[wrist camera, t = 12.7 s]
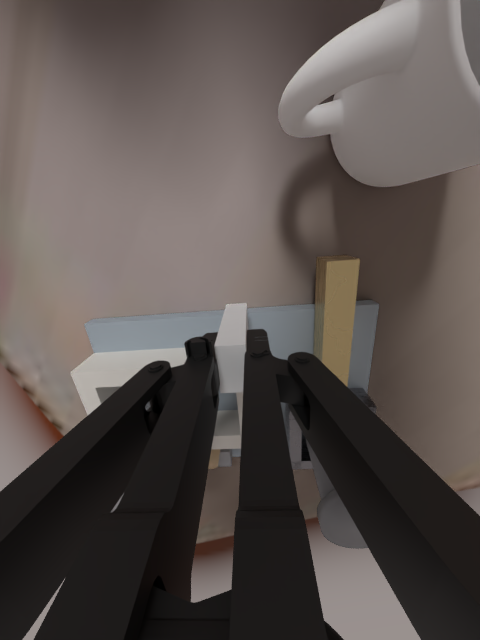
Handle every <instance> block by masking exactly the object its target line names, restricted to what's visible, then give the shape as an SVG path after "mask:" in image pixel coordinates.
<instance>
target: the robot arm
mask: <svg viewBox="0 0 480 640" xmlns="http://www.w3.org/2000/svg"><path fill="white" fill-rule="evenodd" d="M184 345H185V351H186V356H187V359H186V361H185V363H184V364H183V365H180V366H176V367H171V366H170V363H169V362H168V361H164V360H162V361H160V360H158V361H154V362H152V363H149V364H147V365H146V366H144V367H143V368H142V369H141V370H140V371H138V372H137V373H136V374H135V375H134V376H133V377H132V378H130V379H129V380H128V381H127V382H126V383H125V384H124V385H122V386H121V387H120V388H119V389H118V390H117V391H116V392H114V393H113V394H112V395H111V396H110V397H109V398H107V399H106V400H105V401H104V402H103V403H102V404H101V405H99V406H98V407H97V408H96V409H95V410H94V411H93V412H91V413H90V414H89V415H88V416H87V417H86V418H84V419H83V420H82V421H81V422H80V423H79V424H78V425H76V426H75V427H74V428H73V429H72V430H71V431H70V432H68V433H67V434H66V435H65V436H64V437H63V438H62V439H60V441H58V442H57V443H56V444H55V445H54V446H52V447H51V448H50V449H49V450H48V451H47V452H45V453H44V454H43V455H42V456H41V457H40V458H39V459H37V460H36V461H35V462H34V463H33V464H32V465H31V466H29V468H27V469H26V470H25V471H24V472H22V473H21V474H20V475H19V476H18V477H17V478H16V479H14V480H13V481H12V482H11V483H10V484H9V485H8V486H6V487H5V488H4V489H3V490H2V491H1V492H0V640H22V639H23V638H24V636H25V635H26V633H27V632H28V631H29V630H30V628H31V627H32V625H33V624H34V622H35V621H36V620H37V618H38V617H39V615H40V614H41V612H42V611H43V609H44V608H45V607H46V605H47V604H48V602H49V601H50V599H51V598H52V596H53V595H54V593H55V592H56V590H57V589H58V588H59V586H60V585H61V583H62V582H63V580H64V579H65V580H64V582H63V584H62V586H61V588H60V590H59V592H58V594H57V596H56V598H55V600H54V602H53V604H52V605H51V607H50V609H49V611H48V613H47V615H46V617H45V619H44V621H43V623H42V625H41V626H40V629H39V630H38V632H37V634H36V636H35V638H34V640H343V638H341V636H340V635H339V634H338V633H337V632H336V631H335V630H334V629H333V628H332V627H331V626H330V625H329V624H328V623H326V622H325V621H324V618H323V613H322V608H321V603H320V598H319V592H318V587H317V582H316V576H315V571H314V566H313V560H312V555H311V550H310V544H309V539H308V534H307V529H306V524H305V519H304V515H303V512H302V510H301V509H300V507H299V503H298V498H297V493H296V487H295V481H294V476H293V470H292V464H291V459H290V453H289V447H288V442H287V436H286V430H285V425H284V419H283V413H282V408H281V402H282V403H287V404H288V406H289V409H290V411H291V413H292V415H293V416H294V418H295V420H296V422H297V423H298V425H299V427H300V429H301V430H302V432H303V434H304V436H305V437H306V439H307V441H308V443H309V444H310V446H311V448H312V450H313V451H314V453H315V455H316V457H317V458H318V460H319V462H320V464H321V465H322V467H323V469H324V471H325V472H326V474H327V476H328V478H329V479H330V481H331V483H332V485H333V486H334V488H335V490H336V492H337V493H338V495H339V497H340V499H341V500H342V502H343V504H344V506H345V507H346V509H347V511H348V513H349V514H350V516H351V518H352V520H353V521H354V523H355V525H356V527H357V528H358V530H359V532H360V534H361V535H362V537H363V539H364V541H365V542H366V544H367V546H368V548H369V549H370V551H371V553H372V555H373V556H374V558H375V560H376V562H377V563H378V565H379V567H380V569H381V570H382V572H383V574H384V576H385V577H386V579H387V581H388V583H389V584H390V586H391V588H392V590H393V591H394V593H395V595H396V597H397V598H398V600H399V602H400V604H401V605H402V607H403V609H404V611H405V613H406V614H407V616H408V618H409V619H410V621H411V623H412V625H413V627H414V628H415V630H416V632H417V633H418V635H419V636H420V638H421V640H480V516H479V515H478V514H477V513H476V512H475V511H474V510H473V509H472V508H471V507H470V506H469V505H468V504H467V503H466V502H464V500H463V499H462V498H461V497H460V496H458V495H457V494H456V493H455V492H454V491H453V490H452V489H451V488H450V487H449V486H448V485H447V484H446V483H445V482H444V481H443V480H442V479H441V478H440V477H439V476H438V475H437V474H436V473H435V472H434V471H433V470H432V469H431V468H430V467H429V466H428V465H427V464H426V463H425V462H424V461H423V460H422V459H421V458H420V457H419V456H418V455H416V454H415V453H414V452H413V451H412V450H411V449H410V448H409V447H408V446H407V445H406V444H405V443H404V442H403V441H402V440H401V439H400V438H399V437H398V436H397V435H396V434H395V433H394V432H393V431H392V430H391V429H390V428H389V427H388V426H387V425H386V424H385V423H384V422H383V421H382V420H381V419H380V418H379V417H377V416H376V415H375V414H374V413H373V412H372V411H371V410H370V409H369V408H368V407H367V406H366V405H365V404H364V403H363V402H362V401H361V400H360V399H359V398H358V397H357V396H356V395H355V394H354V393H353V392H352V391H351V390H350V389H349V388H348V387H347V386H346V385H345V384H344V383H343V382H342V381H341V380H340V379H338V378H337V377H336V376H335V375H334V374H333V373H332V372H331V371H330V370H329V369H328V368H327V367H326V366H325V365H324V364H323V363H322V362H321V361H320V360H319V359H318V358H317V357H316V356H314V355H313V354H310V353H307V352H296V353H292V354H291V355H289V356H288V360H284V359H279V358H276V357H274V356H273V355H272V353H271V351H270V347H269V341H268V335H267V332H266V331H265V330H264V329H252V330H249V327H248V314H247V303H238V304H226V307H225V310H224V314H223V317H222V321H221V324H220V328H219V331H218V332H213V333H206V334H205V335H204V336H200V337H194V338H191V339H189V340H187V341H186V342H185V343H184ZM219 386H220V393H238V392H243V408H242V434H241V460H240V486H239V507H238V510H237V511H236V517H235V531H234V551H233V572H232V590H229V591H227V592H224V593H221V594H219V595H216V596H213V597H211V598H208V599H205V600H202V601H200V602H196V603H192V602H191V571H192V564H193V558H194V551H195V546H196V540H197V534H198V528H199V521H200V515H201V509H202V503H203V497H204V491H205V485H206V479H207V473H208V467H209V461H210V455H211V449H212V443H213V437H214V431H215V424H216V418H217V412H218V406H219V392H218V391H219ZM148 402H149V403H150V408H149V409H148V410H146V408H145V406H146V405H147V403H148ZM123 493H124V494H123ZM122 495H123V496H122ZM121 496H122V498H121ZM120 498H121V501H120V503H119V504H118V506H117V508H116V509H115V510H114V511H113V512H111V511H112V509H113V508H114V506H115V505H116V504H117V502H118V501H119V499H120Z"/></svg>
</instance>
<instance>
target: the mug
mask: <svg viewBox="0 0 480 640" xmlns="http://www.w3.org/2000/svg"><path fill="white" fill-rule="evenodd" d="M333 94H334V98H333V101H331V102H328V103H324V104H320V105H318V104H319V103H321V102H322V101H324V100H325V99H327V98H328V97H330V96H332V95H333ZM278 120H279V123H280V126H281V128H282V129H283V130H284V132H285V133H286V134H288V135H290V136H293V137H297V138H309V137H317V136H322V135H327V134H330V136H331V142H332V146H333V149H334V152H335V155H336V157H337V159H338V161H339V163H340V164H341V166H342V167H343V169H344V170H345V171H346V172H347V173H348V174H349V175H350V176H351V177H353V178H354V179H355V180H357V181H359V182H361V183H363V184H366V185H369V186H375V187H393V186H400V185H404V184H408V183H412V182H416V181H419V180H423V179H427V178H430V177H434V176H438V175H441V174H445V173H449V172H453V171H456V170H460V169H464V168H467V167H471V166H475V165H478V164H480V0H385V1H384V2H383V4H382V6H381V7H380V9H379V11H377V12H375V13H373V14H371V15H369V16H367V17H366V18H364V19H362V20H360V21H359V22H357V23H355V24H353V25H352V26H350V27H349V28H347V29H346V30H344V31H343V32H341V33H340V34H338V35H337V36H335V37H334V38H333V39H332V40H330V41H329V42H328V43H326V44H325V45H324V46H323V47H321V48H320V49H319V50H318V51H317V52H316V53H315V54H314V55H313V56H311V57H310V58H309V59H308V60H307V61H306V63H305V64H304V65H303V66H302V67H301V68H300V69H299V70H298V72H297V73H296V74H295V75H294V77H293V78H292V79H291V81H290V82H289V83H288V85H287V87H286V88H285V90H284V92H283V95H282V98H281V101H280V104H279V108H278Z"/></svg>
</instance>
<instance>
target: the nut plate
mask: <svg viewBox="0 0 480 640" xmlns="http://www.w3.org/2000/svg"><path fill="white" fill-rule="evenodd" d="M378 310H379V304H378V303H377V302H375V301H373V300H361V301H356V305H355V315H354V325H353V335H352V346H351V356H350V366H349V376H348V386H347V387H348V388H363V389H364V390H365V391H366V393H367V391H368V383H369V376H370V369H371V361H372V354H373V347H374V340H375V332H376V325H377V318H378ZM223 314H224V310H216V311H201V312H187V313H172V314H158V315H143V316H129V317H115V318H100V319H92V320H90V321H89V322H87V323H85V324H84V325H85V328H86V331H87V334H88V337H89V340H90V342H91V345H92V348H93V351H94V353H93V354H92V355H91V356H90V357H89V358H87V359H86V360H85V361H84V362H82V363H81V364H80V365H79V366H78V367H76V368H75V369H74V370H73V371H71V372H70V373H71V375H72V378H73V380H74V383H75V385H76V388H77V390H78V393H79V395H80V398H81V400H82V402H83V405H84V407H85V410H86V412H87V415H89V414H90V413H91V412H93V411H94V410H95V409H96V408H97V407H98V406H99V405H101V404H102V403H103V402H104V401H105V400H106V399H107V398H109V397H110V396H111V395H112V394H113V393H114V392H116V391H117V390H118V389H119V388H120V387H121V386H122V385H124V384H125V383H126V382H127V381H128V380H129V379H130V378H132V377H133V376H134V375H135V374H136V373H137V372H138V371H140V370H141V369H142V368H143V367H144V366H146V365H147V364H149V363H152V362H154V361H158V360H160V361H162V360H164V361H168V362H169V363H170V366H171V367H176V366H180V365H183V364H184V363H185V361H186V359H187V356H186V351H185V345H184V343H185V342H186V341H187V340H189V339H191V338H194V337H200V336H204V335H205V334H206V333H213V332H218V331H219V328H220V324H221V321H222V317H223ZM247 314H248V327H249V330H252V329H264V330H265V331H266V332H267V335H268V341H269V347H270V351H271V353H272V355H273V356H274V357H276V358H279V359H284V360H288V356H289V355H291V354H292V353H296V352H307V353H310V354H313V351H314V320H315V304H303V305H288V306H274V307H259V308H247ZM218 392H219V406H218V412H217V418H216V424H215V431H214V437H213V443H212V449H211V455H210V461H209V467H208V469H215V468H217V467H225V466H232V457H241V434H242V408H243V392H238V393H220V386H219V391H218ZM281 408H282V413H283V419H284V425H285V430H286V410H285V403H282V402H281ZM302 439H305V440H306V444H307V448H308V451H309V455H310V459H311V463H312V467H313V470H314V474H315V478H316V482H317V485H318V489H319V493H320V497H321V501H320V503H319V505H318V507H317V515H318V520H319V524H320V528H321V532H322V534H323V535H324V537H325V538H326V539H327V540H329V541H330V542H332V543H334V544H336V545H339V546H342V547H347V548H368V546H367V544H366V542H365V541H364V539H363V537H362V535H361V534H360V532H359V530H358V528H357V527H356V525H355V523H354V521H353V520H352V518H351V516H350V514H349V513H348V511H347V509H346V507H345V506H344V504H343V502H342V500H341V499H340V497H339V495H338V493H337V492H336V490H335V488H334V486H333V485H332V483H331V481H330V479H329V478H328V476H327V474H326V472H325V471H324V469H323V467H322V465H321V464H320V462H319V460H318V458H317V457H316V455H315V453H314V451H313V450H312V448H311V446H310V444H309V443H308V441H307V439H306V437H305V436H304V434H303V432H302Z"/></svg>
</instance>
